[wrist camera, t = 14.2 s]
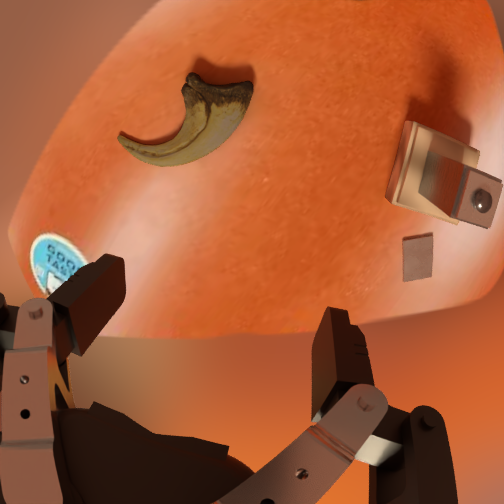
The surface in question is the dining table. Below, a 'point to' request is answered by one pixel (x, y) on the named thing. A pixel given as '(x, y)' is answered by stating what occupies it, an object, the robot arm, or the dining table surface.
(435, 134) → the stand
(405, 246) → the cover plate
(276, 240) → the dining table surface
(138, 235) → the dining table surface
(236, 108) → the claw
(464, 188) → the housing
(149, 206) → the dining table surface
